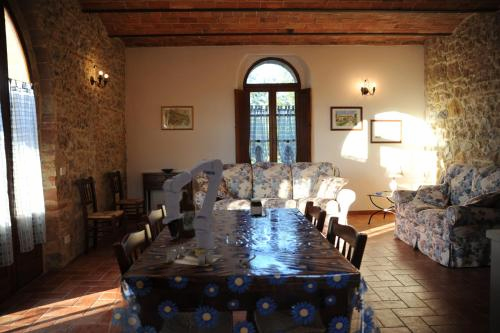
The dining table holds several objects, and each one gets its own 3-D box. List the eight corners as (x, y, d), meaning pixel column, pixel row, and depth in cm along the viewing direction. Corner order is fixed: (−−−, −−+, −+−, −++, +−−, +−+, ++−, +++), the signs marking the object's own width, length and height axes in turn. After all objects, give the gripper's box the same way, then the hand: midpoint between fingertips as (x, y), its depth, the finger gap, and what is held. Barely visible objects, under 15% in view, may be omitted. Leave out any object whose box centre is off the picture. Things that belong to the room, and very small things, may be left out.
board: (183, 254, 187) (183, 252, 187) (223, 257, 180) (223, 255, 180) (164, 264, 172) (164, 262, 172) (206, 268, 165) (206, 265, 165)
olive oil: (173, 235, 227) (172, 191, 225) (191, 233, 233) (189, 189, 231) (181, 239, 218) (180, 192, 216) (199, 236, 224) (197, 191, 222)
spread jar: (249, 214, 288) (248, 198, 287) (264, 213, 291) (263, 197, 291) (254, 217, 277) (253, 200, 276) (269, 216, 280) (269, 199, 279)
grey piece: (178, 255, 182) (177, 246, 182) (218, 258, 175) (218, 249, 175) (163, 262, 172) (163, 253, 171) (206, 266, 164) (205, 256, 164)
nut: (197, 253, 184) (197, 247, 183) (207, 254, 182) (207, 247, 182) (192, 256, 180) (192, 249, 179) (203, 257, 178) (202, 250, 178)
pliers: (254, 252, 185) (264, 265, 166) (254, 254, 185) (264, 267, 166) (233, 254, 183) (240, 267, 164) (233, 256, 183) (241, 269, 164)
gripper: (173, 203, 187) (174, 232, 188) (155, 208, 173) (157, 240, 174) (187, 204, 184) (188, 233, 185) (170, 209, 171) (171, 241, 172)
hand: (174, 236), depth 179 cm, fingers closed
